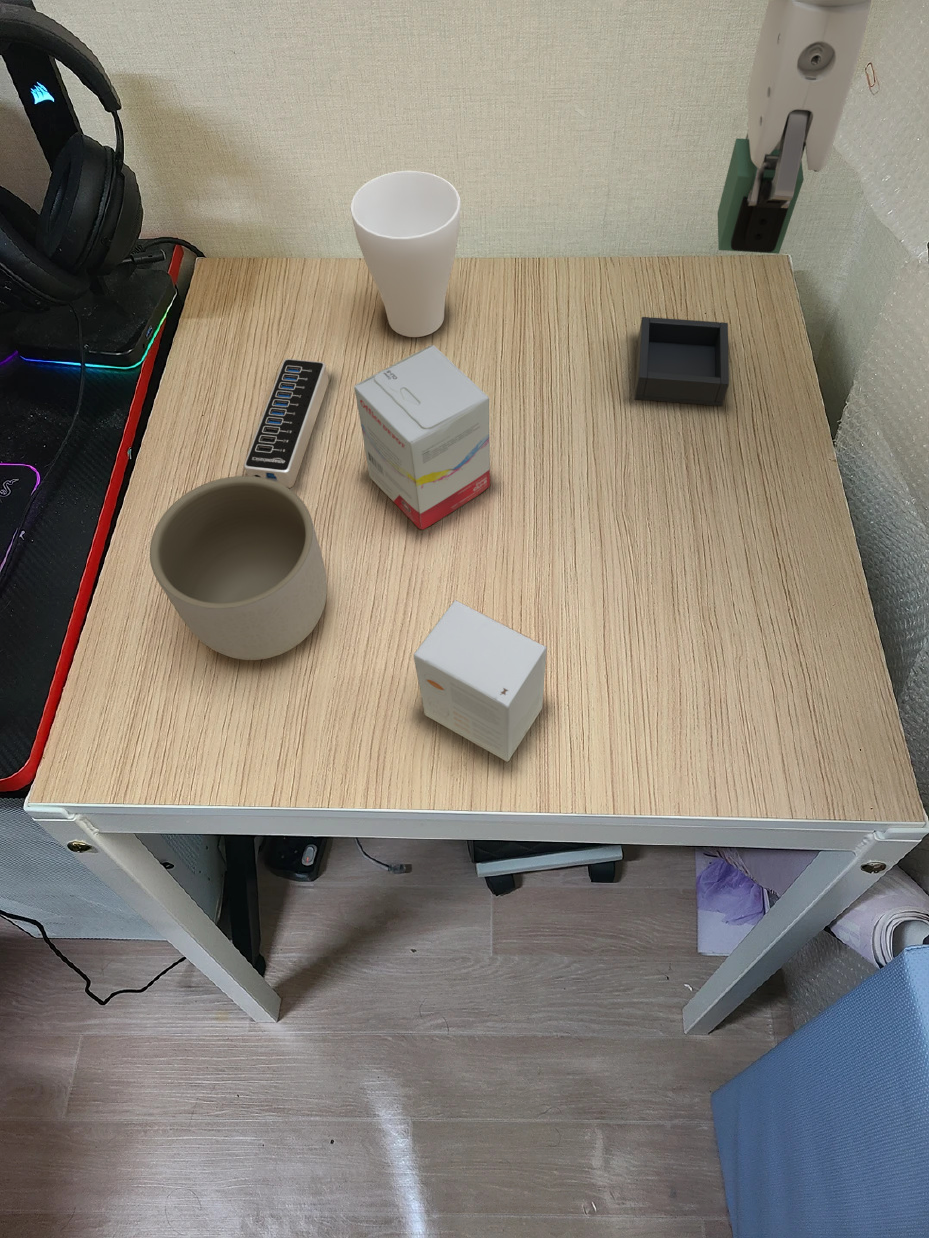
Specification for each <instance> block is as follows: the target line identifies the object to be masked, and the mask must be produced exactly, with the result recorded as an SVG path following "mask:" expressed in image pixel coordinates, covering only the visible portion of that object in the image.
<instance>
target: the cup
mask: <svg viewBox="0 0 929 1238" xmlns="http://www.w3.org/2000/svg"><path fill="white" fill-rule="evenodd" d="M461 207H462V200H461V197H460V194H459V191H458V190H457V189H456V188H455V186H454V185H453V184H452V183H451V182H449V181H448V180H446V179H445V178H443V177H441V176H439V175H437V174H434V173H431V172H426V171H420V170H399V171H393V172H388V173H385V174H381V175H378V176H376V177H374V178H372V179H370V180H368V181H367V182H365V183H364V184H363V185H362V186H361V187H359V188H358V189H357V190H356V191H355V194H354V195H353V196H352V198H351V201H350V206H349V210H350V211H349V212H350V215H351V219H352V224H353V228H354V232H355V236H356V240H357V243H358V246H359V249H360V251H361V254H362V256H363V259H364V261H365V262H364V263H365V264H366V266H367V269H368V271H369V273H370V275H371V277H372V279H373V282H374V283H375V285H376V288H377V290H378V293H379V295H380V298H381V300H382V303H383V306H384V309H385V313H386V317H387V320H388V321H387V322H388V325H389V327H390V328H391V330H393V331H394V332H395V333H397V334H399V335H401V336H403V337H407V338H419V337H420V338H421V337H425V336H428V335H431V334H433V333H434V332H436V331H438V329H440V328H441V326H442V325H443V322H444V320H445V306H446V296H447V290H448V287H449V286H448V285H449V281H450V276H451V273H452V269H453V266H454V263H455V257H456V252H457V246H458V245H457V244H458V241H459V233H460V226H461V209H462V208H461Z"/></svg>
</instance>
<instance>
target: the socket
mask: <svg viewBox="0 0 929 1238" xmlns="http://www.w3.org/2000/svg"><path fill="white" fill-rule="evenodd" d="M636 350H637V351H636V364H635V365H636V366H635V386H634V400H639V401H640V400H642V401H651V402H653V401H654V402H667V403H680V404H690V405H691V404H692V405H705V406H715V407H716V406H717V407H722V406H723V405H724V402H725V398H726V394H727V392H728V389H729V385H730V366H729V364H730V362H729V361H730V359H729V358H730V357H729V323H728V322H723V321H721V322H720V321H708V320H695V319H694V320H693V319H680V318H679V319H678V318H667V317H649V316H641V321H640V325H639V332H638V336H637V348H636Z"/></svg>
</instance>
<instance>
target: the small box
mask: <svg viewBox="0 0 929 1238" xmlns="http://www.w3.org/2000/svg"><path fill="white" fill-rule="evenodd" d="M413 660H414V664H415V670H416V671H415V672H416V676H417V677H416V678H417V681H418V686H419V687H418V688H419V692H420V698H421V701H422V707H423V713H424V715H425V717H427V718H429V719H431V720H433V721H435V722H436V723H438V724H440V725H442V726H443V727H445V728H447V729H448V730H449V731H452V732H454V733H456V734H457V735H459V736H461V737H462V738H464V739H466V740H467V741H469V742H471V743H473V744H475V745H476V746H478V747H480V748H482V749H484V750H486V751H488V752H489V753H491V754H492V755H494V756H496V757H498V758H500V759H501V760H503V761H505V762H506V763H507V762H509V761H510V759H511V758H512V756H513V755H514V753H515V752H516V750H517V749H518V747H519V746H520V744H521V743H522V741H523V739H524V738H525V736H526V734H527V733H528V732H529V730H530V728H531V727H532V726H533V724H534V722H535V721H536V719H537V717H538V716H539V714H540V712H541V711H542V709H543V704H544V703H543V702H544V688H545V677H546V665H547V646H546V645H545V644H542V643H540V642H538V641H536V640H535V639H534V638H533V639H532V638H530V637H528V636H527V635H525V634H523V633H521V632H519V631H517V630H515V629H513V628H512V627H509V626H507V625H505V624H503V623H501V622H499V621H497V620H495V619H494V618H492V617H490V616H488V615H486V614H484V613H482V612H480V611H478V610H476V609H474V608H472V607H471V606H468V605H466V604H464V603H462V602H461V601H459V600H458V599H454V601H452V603H451V604H450V605H449V607H448V608H447V609H446V611H445V612H444V613H443V614H442V616H441V617H440V619H439V620H438V621H437V623H436V624H435V626H433V628H432V629H431V630H430V632H429V633H428V635H427V636H426V637H425V638H424V640H423V641H422V642H421V644H420V645H419V647H418V648H417V649H416V651H415V652H414V653H413Z"/></svg>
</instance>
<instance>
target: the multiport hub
mask: <svg viewBox="0 0 929 1238" xmlns="http://www.w3.org/2000/svg"><path fill="white" fill-rule="evenodd" d="M329 382H330V380H329V376H328V371H327V366H326V364H325V362H324V361H314V360H304V359H295V358H294V359H293V358H285V359H284V360H282V362H281V365H280V368H279V370H278V373H277V376H276V379H275V382H274V384H273V386H272V389H271V392H270V394H269V397H268V399H267V403H266V405H265V408H264V410H263V412H262V416H261V418H260V421H259V424H258V426H257V428H256V432H255V434H254V437H253V440H252V442H251V444H250V447H249V450H248V452H247V455H246V458H245V461H244V463H243V468H244V470H245V473H246V476H254V477H261V478H266V479H269V480H272V481H275V482H278V483H280V484H282V485H284V486H286V487H287V488H289V489H291V488H293V487H294V486H295V484H296V481H297V478H298V475H299V472H300V469H301V466H302V463H303V460H304V457H305V454H306V451H307V448H308V445H309V442H310V439H311V437H312V434H313V430H314V427H315V424H316V421H317V418H318V415H319V413H320V410H321V407H322V404H323V400H324V397H325V394H326V392H327V388H328V385H329Z"/></svg>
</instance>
